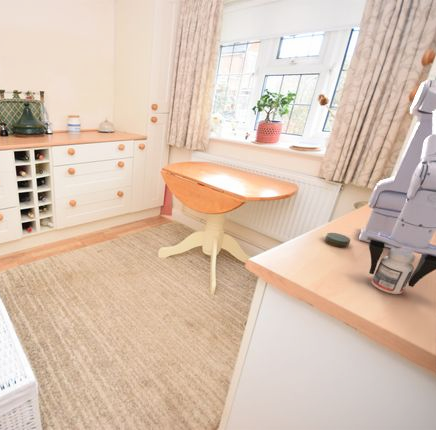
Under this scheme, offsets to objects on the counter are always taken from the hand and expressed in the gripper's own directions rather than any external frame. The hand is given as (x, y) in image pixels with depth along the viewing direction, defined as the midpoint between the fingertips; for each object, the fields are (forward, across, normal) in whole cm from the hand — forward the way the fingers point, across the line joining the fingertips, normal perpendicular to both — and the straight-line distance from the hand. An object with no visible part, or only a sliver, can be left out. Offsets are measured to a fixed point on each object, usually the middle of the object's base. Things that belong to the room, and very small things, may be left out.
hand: (390, 278), depth 64 cm
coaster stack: (+2, -12, +17) cm, 21 cm away
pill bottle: (+3, 0, 0) cm, 3 cm away
